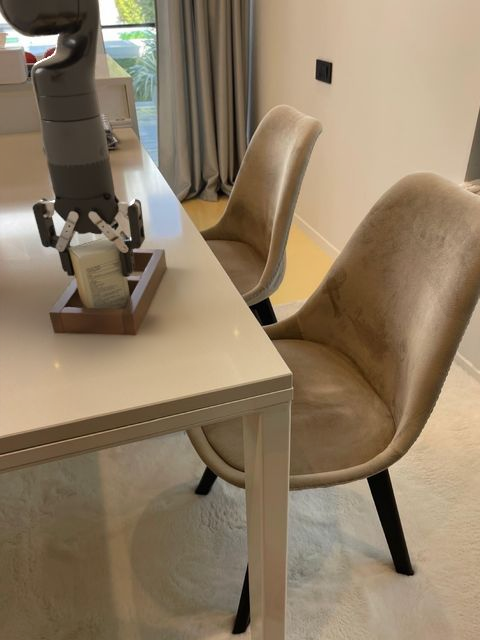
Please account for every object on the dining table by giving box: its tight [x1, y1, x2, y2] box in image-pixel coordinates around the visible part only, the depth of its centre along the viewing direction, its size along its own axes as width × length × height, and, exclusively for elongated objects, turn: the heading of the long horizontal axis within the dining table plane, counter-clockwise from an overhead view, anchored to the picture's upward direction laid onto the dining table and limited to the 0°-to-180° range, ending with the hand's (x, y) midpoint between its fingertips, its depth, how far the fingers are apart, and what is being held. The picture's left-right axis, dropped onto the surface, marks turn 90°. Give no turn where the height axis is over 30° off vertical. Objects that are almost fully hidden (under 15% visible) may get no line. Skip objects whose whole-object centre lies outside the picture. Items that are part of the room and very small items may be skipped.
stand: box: [48, 248, 167, 336], centre depth 86 cm, size 12×22×5 cm, turn 177°
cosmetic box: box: [68, 236, 130, 309], centre depth 80 cm, size 6×4×12 cm
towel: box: [100, 113, 119, 150], centre depth 166 cm, size 15×18×8 cm
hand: (100, 273), depth 79 cm, fingers closed on cosmetic box, 7 cm apart
